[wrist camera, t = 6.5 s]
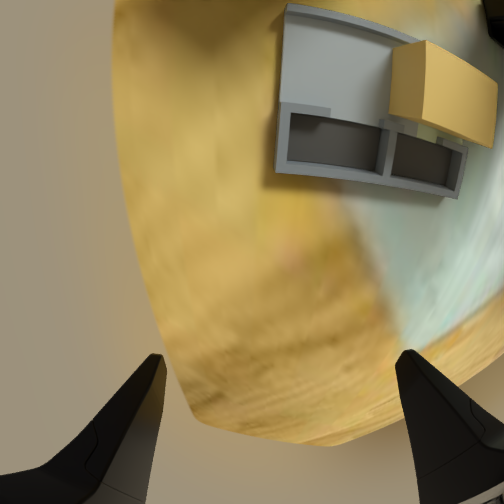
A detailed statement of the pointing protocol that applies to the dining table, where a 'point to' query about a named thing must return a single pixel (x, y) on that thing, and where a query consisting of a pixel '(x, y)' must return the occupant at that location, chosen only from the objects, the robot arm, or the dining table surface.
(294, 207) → the dining table surface
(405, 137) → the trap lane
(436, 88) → the ochre block
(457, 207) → the dining table surface
